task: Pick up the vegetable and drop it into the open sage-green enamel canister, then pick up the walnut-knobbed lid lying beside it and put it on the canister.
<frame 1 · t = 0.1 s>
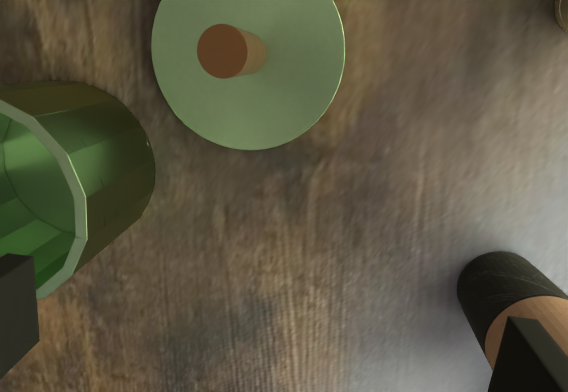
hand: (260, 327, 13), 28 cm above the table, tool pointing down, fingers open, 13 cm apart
travel mug: (495, 286, 42), on the table
canister lid: (247, 53, 37), point 1 cm above the table
canister: (76, 164, 42), on the table
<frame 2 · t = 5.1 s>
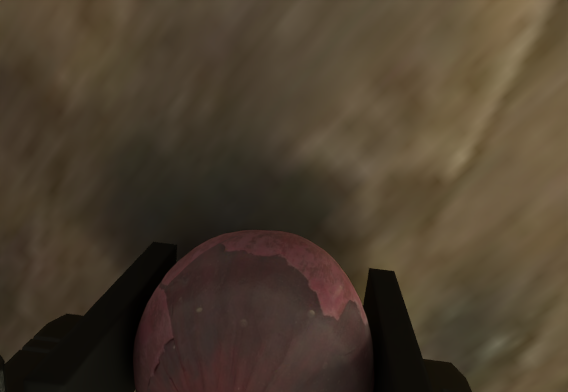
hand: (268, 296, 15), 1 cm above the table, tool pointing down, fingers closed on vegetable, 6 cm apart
vegetable: (271, 279, 16), on the table, touching gripper
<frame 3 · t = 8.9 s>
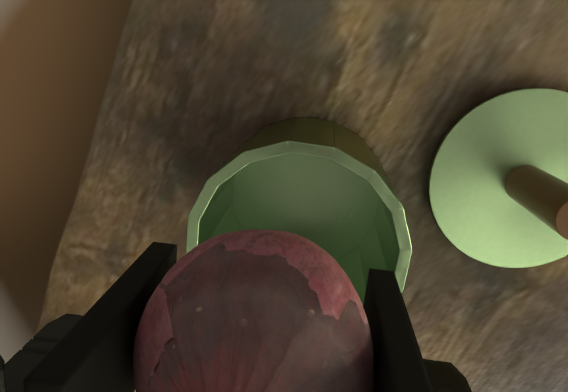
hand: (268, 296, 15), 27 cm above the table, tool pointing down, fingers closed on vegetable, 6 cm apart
vegetable: (271, 279, 16), point 26 cm above the table, touching gripper
canister lid: (521, 181, 39), point 1 cm above the table
canister: (304, 198, 42), on the table
when the fingers open (14 cm above the table, at t = 12.9 s): vegetable drops 11 cm, resting on canister.
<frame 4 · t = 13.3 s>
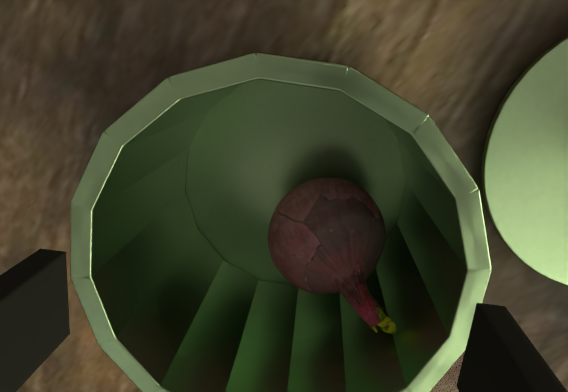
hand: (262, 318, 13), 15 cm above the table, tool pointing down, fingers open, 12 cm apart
vegetable: (297, 191, 27), point 1 cm above the table, touching canister
canister: (293, 183, 28), on the table
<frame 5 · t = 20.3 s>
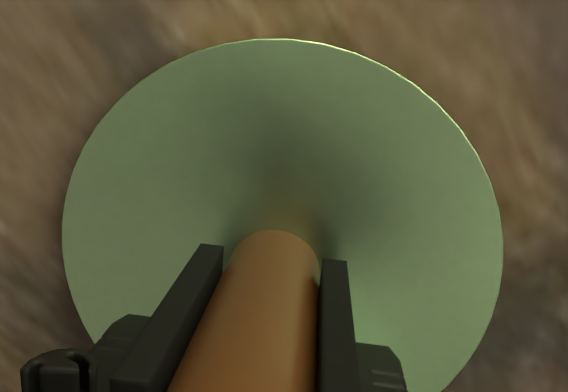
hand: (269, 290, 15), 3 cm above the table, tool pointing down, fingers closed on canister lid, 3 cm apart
canister lid: (275, 263, 17), point 1 cm above the table, touching gripper
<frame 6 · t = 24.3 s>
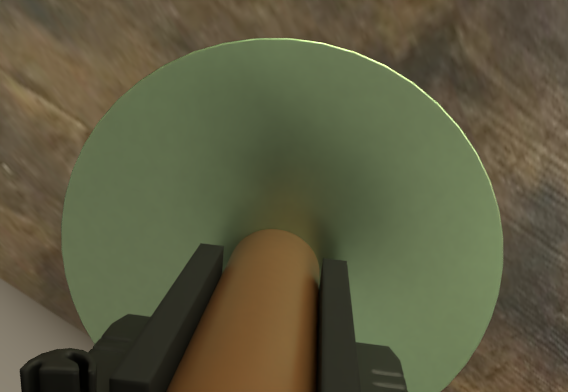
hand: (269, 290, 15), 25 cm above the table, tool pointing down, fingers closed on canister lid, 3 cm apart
canister lid: (275, 263, 17), point 23 cm above the table, touching gripper
when the fingers open (15 cm above the table, at t = 28.3 s): canister lid stays where it is, resting on canister.
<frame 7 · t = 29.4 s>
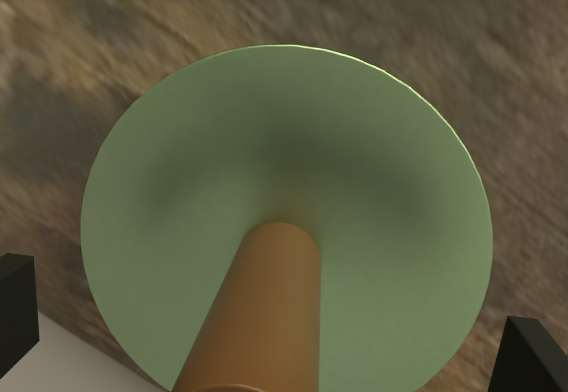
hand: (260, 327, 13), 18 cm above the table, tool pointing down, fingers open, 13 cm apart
canister lid: (280, 254, 18), point 12 cm above the table, touching canister
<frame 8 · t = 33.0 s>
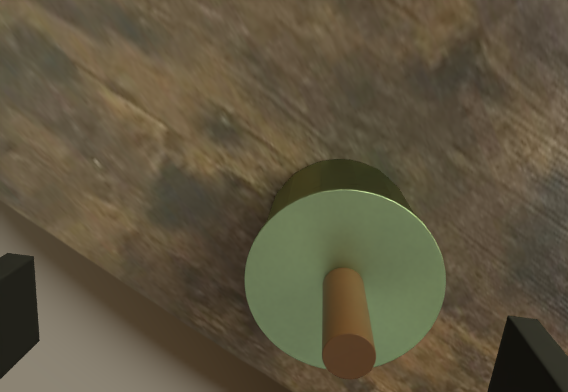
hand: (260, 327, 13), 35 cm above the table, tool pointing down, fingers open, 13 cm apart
canister lid: (342, 282, 36), point 12 cm above the table, touching canister
canister: (338, 227, 48), on the table
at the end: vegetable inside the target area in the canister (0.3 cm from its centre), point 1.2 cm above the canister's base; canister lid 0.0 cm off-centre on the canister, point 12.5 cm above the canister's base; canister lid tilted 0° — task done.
